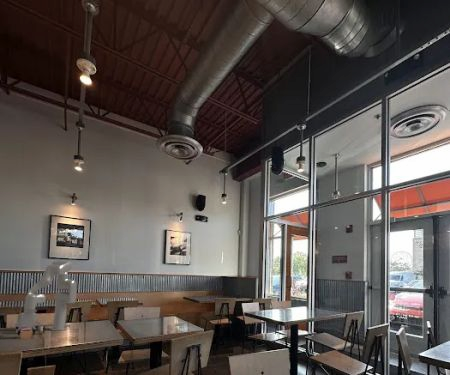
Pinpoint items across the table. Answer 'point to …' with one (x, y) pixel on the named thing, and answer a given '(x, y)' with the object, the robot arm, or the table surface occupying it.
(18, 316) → the candy bar box
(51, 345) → the table surface
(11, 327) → the table surface
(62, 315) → the robot arm
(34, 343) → the table surface
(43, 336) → the post board
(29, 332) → the collar
